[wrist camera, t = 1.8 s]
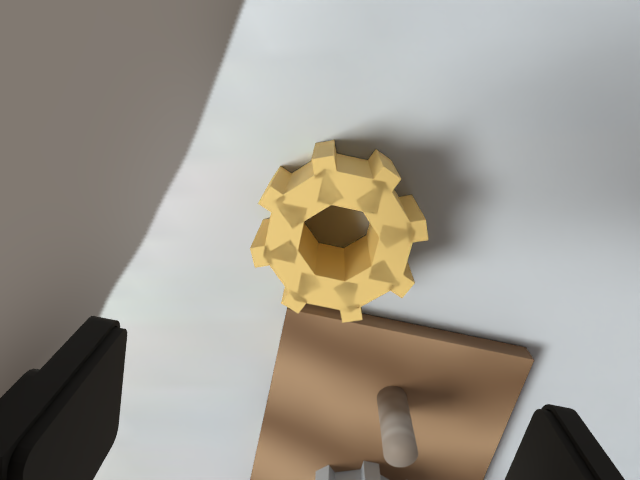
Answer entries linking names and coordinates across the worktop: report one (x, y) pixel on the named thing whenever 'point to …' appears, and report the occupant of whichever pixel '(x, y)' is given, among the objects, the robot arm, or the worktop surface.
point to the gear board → (349, 383)
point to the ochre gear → (330, 261)
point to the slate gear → (351, 473)
